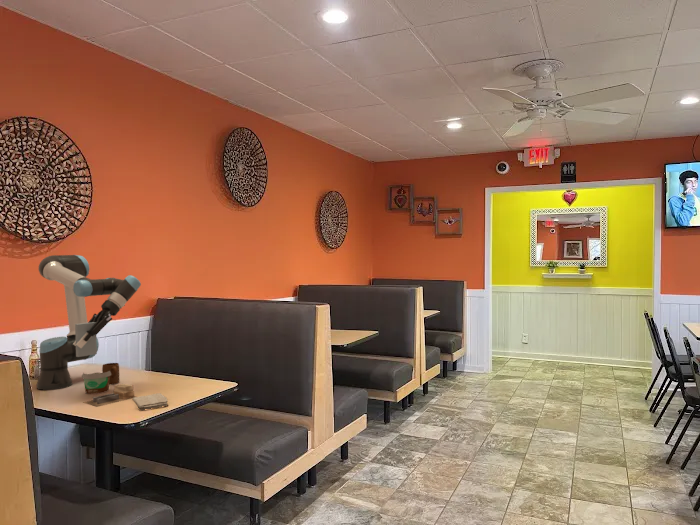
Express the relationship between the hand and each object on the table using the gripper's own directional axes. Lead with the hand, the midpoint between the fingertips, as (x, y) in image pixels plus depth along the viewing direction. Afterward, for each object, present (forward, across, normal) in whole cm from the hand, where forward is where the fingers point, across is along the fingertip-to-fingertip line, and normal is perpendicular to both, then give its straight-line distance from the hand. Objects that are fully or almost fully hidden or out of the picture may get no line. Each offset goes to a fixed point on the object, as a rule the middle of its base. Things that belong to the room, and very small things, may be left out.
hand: (77, 346), depth 227 cm
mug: (-1, +20, -35) cm, 40 cm away
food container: (+10, +5, -24) cm, 27 cm away
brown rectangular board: (+11, -13, -23) cm, 28 cm away
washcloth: (+6, -30, -29) cm, 42 cm away
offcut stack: (+7, -13, -26) cm, 30 cm away
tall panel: (0, 0, -6) cm, 6 cm away
